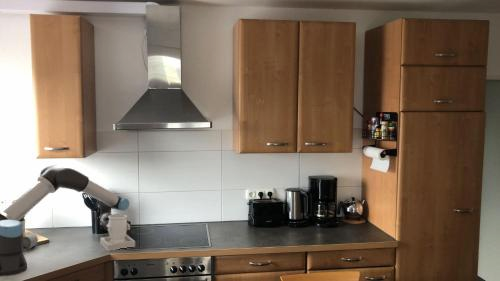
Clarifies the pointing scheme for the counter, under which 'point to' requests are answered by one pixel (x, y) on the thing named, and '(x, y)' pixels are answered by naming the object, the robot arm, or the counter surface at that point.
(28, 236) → the ceramic mug
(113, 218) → the jar
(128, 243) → the holder
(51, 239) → the counter surface
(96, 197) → the robot arm
